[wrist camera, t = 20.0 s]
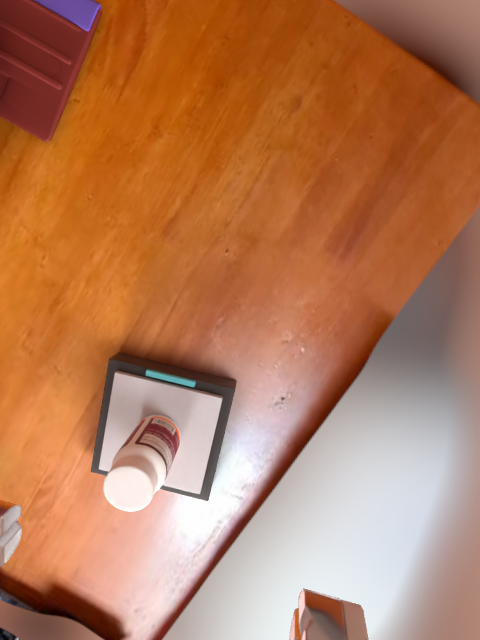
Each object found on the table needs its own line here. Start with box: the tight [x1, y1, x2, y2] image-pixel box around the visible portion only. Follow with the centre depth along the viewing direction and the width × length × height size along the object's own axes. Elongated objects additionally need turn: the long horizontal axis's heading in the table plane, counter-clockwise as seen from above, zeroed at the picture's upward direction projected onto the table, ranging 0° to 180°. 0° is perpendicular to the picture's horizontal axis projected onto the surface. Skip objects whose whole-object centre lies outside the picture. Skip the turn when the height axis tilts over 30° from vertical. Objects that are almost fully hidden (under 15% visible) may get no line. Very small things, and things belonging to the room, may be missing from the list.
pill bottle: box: [103, 415, 181, 511], centre depth 31 cm, size 5×5×8 cm
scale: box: [91, 353, 237, 501], centre depth 36 cm, size 13×13×3 cm
